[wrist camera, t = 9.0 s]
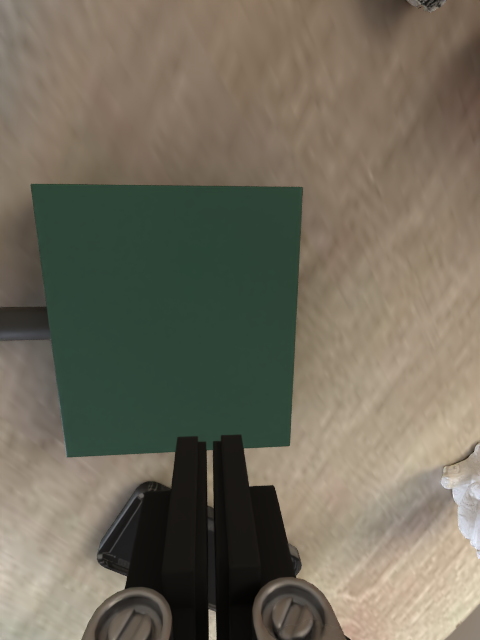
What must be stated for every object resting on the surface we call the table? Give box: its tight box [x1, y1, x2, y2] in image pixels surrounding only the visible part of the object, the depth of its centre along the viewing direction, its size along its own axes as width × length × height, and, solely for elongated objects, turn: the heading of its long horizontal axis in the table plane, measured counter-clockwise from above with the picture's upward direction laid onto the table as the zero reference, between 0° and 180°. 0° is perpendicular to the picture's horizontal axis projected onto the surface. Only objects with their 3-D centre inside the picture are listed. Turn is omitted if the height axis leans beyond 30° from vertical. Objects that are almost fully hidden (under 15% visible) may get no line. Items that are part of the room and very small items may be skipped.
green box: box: [0, 184, 303, 457], centre depth 25 cm, size 4×16×23 cm
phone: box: [97, 482, 302, 612], centre depth 32 cm, size 8×1×15 cm
